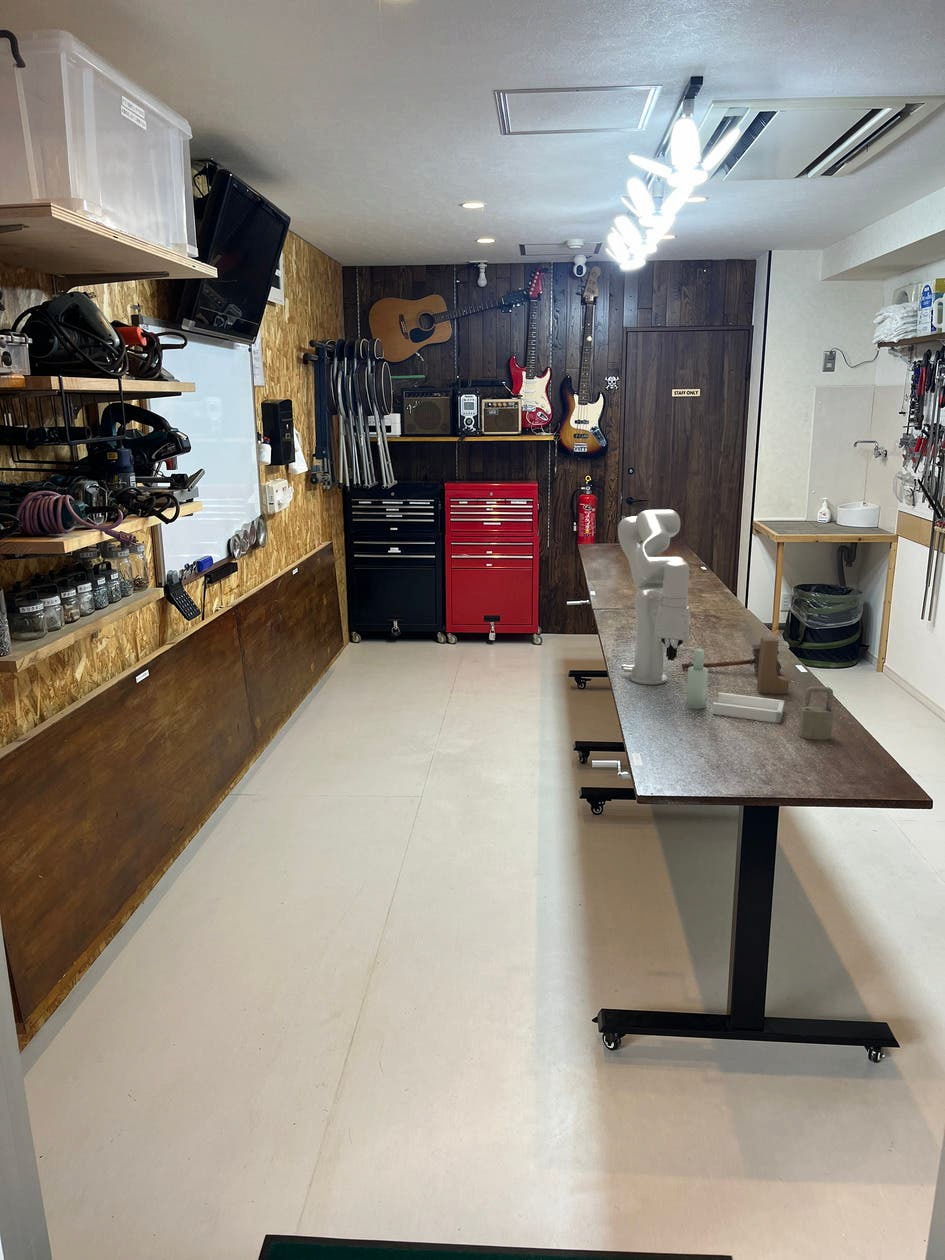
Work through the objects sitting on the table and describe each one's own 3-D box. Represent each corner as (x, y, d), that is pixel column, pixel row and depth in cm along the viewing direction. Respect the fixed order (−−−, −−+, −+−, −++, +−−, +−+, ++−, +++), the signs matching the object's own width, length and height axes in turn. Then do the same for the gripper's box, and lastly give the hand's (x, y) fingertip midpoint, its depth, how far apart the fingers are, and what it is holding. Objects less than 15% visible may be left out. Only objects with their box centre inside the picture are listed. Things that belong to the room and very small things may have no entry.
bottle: (684, 707, 280) (687, 651, 275) (687, 701, 285) (691, 646, 281) (704, 710, 278) (707, 653, 273) (707, 704, 283) (710, 648, 278)
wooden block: (783, 689, 296) (788, 636, 291) (788, 694, 292) (793, 640, 287) (756, 689, 296) (760, 636, 291) (760, 694, 292) (765, 640, 287)
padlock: (798, 733, 259) (803, 684, 255) (827, 735, 258) (833, 685, 254) (801, 738, 255) (806, 688, 251) (831, 740, 254) (837, 689, 250)
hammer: (782, 674, 307) (778, 646, 305) (684, 686, 315) (680, 659, 313) (780, 668, 314) (776, 641, 311) (684, 680, 321) (680, 653, 319)
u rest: (712, 714, 274) (713, 703, 273) (718, 702, 284) (719, 692, 283) (780, 723, 267) (781, 712, 266) (783, 711, 277) (784, 700, 276)
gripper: (647, 602, 276) (644, 659, 280) (697, 606, 270) (693, 665, 275) (652, 597, 282) (649, 653, 287) (701, 601, 277) (697, 658, 281)
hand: (671, 659), depth 281 cm, fingers closed
